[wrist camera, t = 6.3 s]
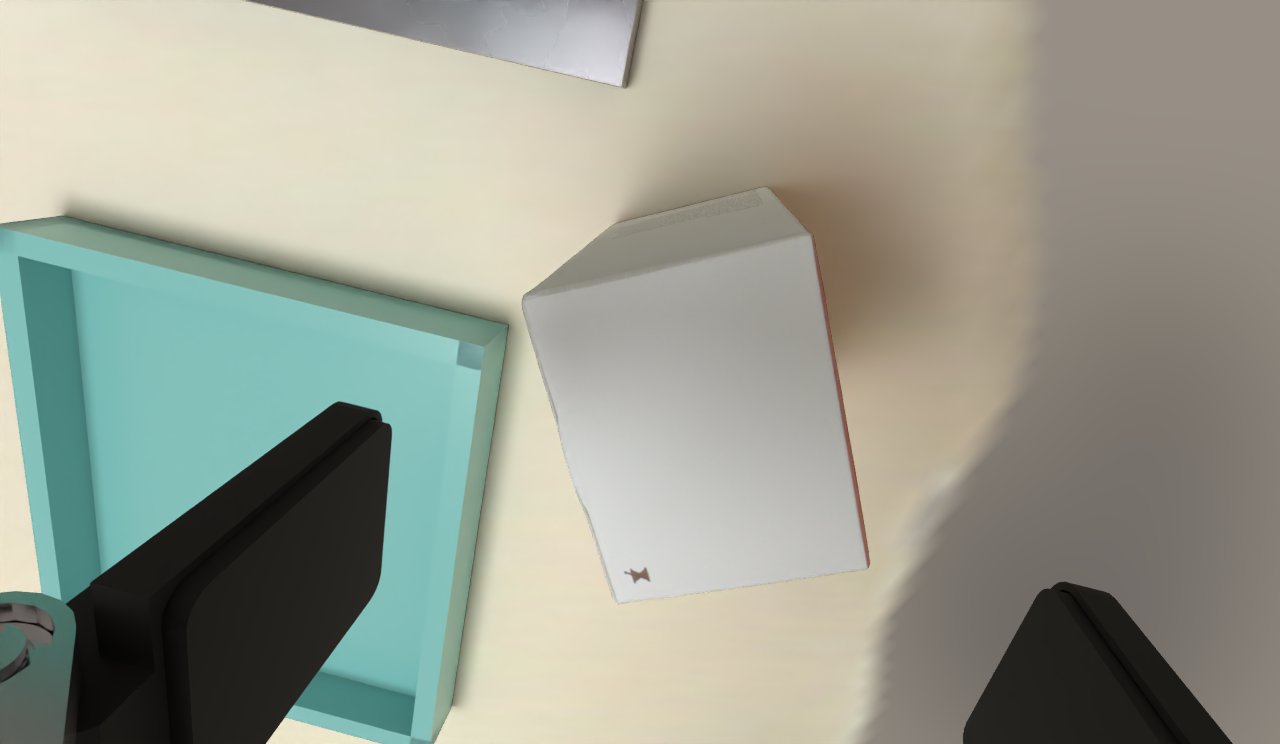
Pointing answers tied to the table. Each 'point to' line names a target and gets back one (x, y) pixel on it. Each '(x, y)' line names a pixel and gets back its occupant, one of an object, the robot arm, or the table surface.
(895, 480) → the table surface
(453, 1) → the mounted unit
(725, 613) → the table surface
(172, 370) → the teal tray
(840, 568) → the small box
